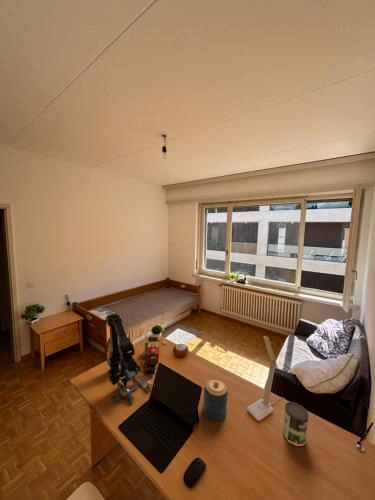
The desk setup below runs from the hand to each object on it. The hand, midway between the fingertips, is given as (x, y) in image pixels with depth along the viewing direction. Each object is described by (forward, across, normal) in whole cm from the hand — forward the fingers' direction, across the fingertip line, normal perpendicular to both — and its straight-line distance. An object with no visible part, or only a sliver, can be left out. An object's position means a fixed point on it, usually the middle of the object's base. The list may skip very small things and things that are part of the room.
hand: (124, 386), depth 128 cm
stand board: (+1, +11, -6) cm, 12 cm away
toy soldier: (+1, +26, +8) cm, 27 cm away
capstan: (+1, -3, -6) cm, 6 cm away
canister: (+1, +27, -49) cm, 56 cm away
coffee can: (+1, +44, -85) cm, 95 cm away
